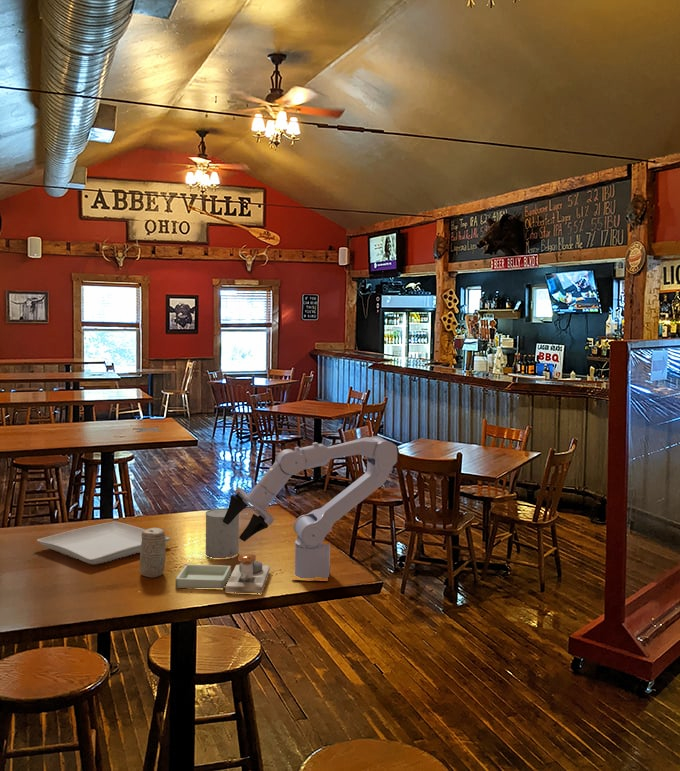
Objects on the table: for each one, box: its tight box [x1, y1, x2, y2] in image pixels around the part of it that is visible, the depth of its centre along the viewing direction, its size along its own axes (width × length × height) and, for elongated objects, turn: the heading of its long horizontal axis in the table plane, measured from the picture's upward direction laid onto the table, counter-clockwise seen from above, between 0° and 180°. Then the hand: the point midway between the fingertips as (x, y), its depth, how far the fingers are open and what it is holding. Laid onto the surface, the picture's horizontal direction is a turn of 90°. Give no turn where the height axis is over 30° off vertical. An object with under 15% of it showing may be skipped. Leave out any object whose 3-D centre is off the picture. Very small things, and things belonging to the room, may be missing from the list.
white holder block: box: [224, 560, 271, 594], centre depth 189 cm, size 9×16×5 cm, turn 178°
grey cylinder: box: [205, 507, 240, 558], centre depth 211 cm, size 10×10×12 cm
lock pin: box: [237, 553, 257, 583], centre depth 186 cm, size 4×4×8 cm
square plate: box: [36, 520, 171, 565], centre depth 214 cm, size 27×27×4 cm
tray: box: [175, 563, 232, 590], centre depth 189 cm, size 12×11×2 cm
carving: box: [139, 527, 167, 579], centre depth 193 cm, size 6×8×12 cm
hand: (233, 531), depth 188 cm, fingers open, 7 cm apart
